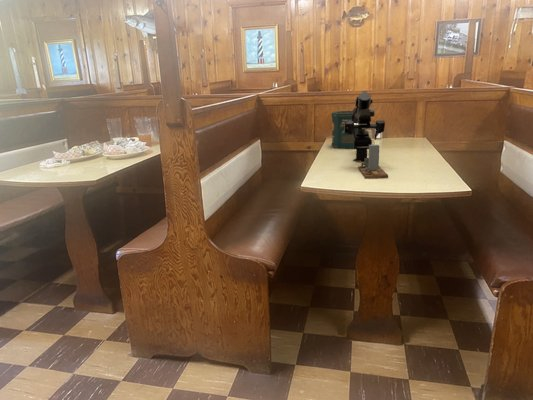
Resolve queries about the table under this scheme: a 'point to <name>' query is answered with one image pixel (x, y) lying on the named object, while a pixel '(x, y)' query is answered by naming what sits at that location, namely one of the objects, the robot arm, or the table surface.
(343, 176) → the table surface
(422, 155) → the table surface
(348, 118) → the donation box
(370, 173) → the hole plate
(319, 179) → the table surface
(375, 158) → the block
